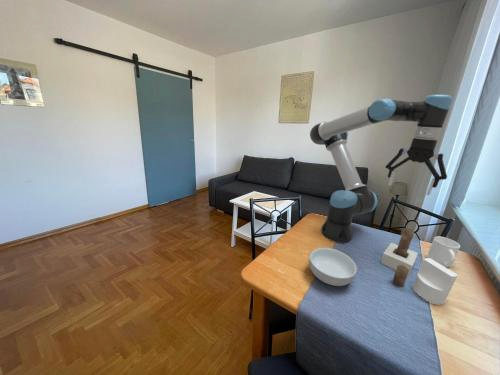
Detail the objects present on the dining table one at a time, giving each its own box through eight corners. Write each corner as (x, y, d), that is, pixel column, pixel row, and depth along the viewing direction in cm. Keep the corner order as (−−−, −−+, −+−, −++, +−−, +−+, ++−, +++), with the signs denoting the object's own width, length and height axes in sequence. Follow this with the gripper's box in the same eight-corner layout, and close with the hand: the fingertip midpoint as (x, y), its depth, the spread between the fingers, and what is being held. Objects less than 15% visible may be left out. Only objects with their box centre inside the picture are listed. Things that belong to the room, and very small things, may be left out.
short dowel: (391, 283, 77) (396, 268, 74) (393, 278, 79) (398, 263, 77) (402, 288, 74) (408, 273, 72) (404, 283, 77) (410, 268, 74)
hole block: (380, 262, 87) (383, 253, 86) (388, 251, 95) (391, 242, 93) (408, 276, 81) (412, 265, 79) (414, 262, 88) (418, 253, 87)
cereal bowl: (330, 300, 68) (334, 284, 66) (298, 268, 82) (300, 254, 80) (362, 283, 76) (367, 268, 73) (328, 257, 90) (331, 243, 87)
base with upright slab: (451, 301, 70) (465, 273, 66) (432, 307, 67) (446, 278, 63) (423, 281, 78) (434, 256, 74) (406, 286, 75) (416, 260, 71)
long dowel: (391, 262, 88) (402, 230, 82) (393, 259, 90) (404, 227, 85) (401, 266, 85) (413, 234, 80) (403, 263, 88) (415, 231, 82)
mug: (460, 276, 82) (470, 255, 78) (435, 270, 84) (444, 249, 81) (445, 258, 92) (453, 238, 89) (423, 253, 95) (430, 234, 91)
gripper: (386, 135, 85) (373, 182, 92) (469, 143, 68) (445, 201, 75) (391, 134, 90) (378, 180, 97) (471, 142, 72) (448, 196, 80)
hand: (407, 189), depth 86 cm, fingers open, 13 cm apart
